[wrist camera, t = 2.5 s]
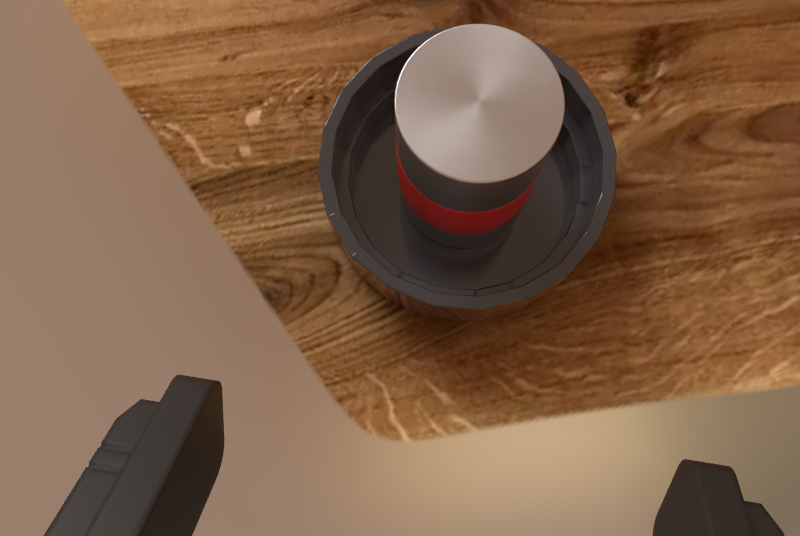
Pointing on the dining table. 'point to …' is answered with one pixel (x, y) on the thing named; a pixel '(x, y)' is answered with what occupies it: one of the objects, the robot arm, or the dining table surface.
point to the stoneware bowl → (446, 266)
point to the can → (473, 131)
